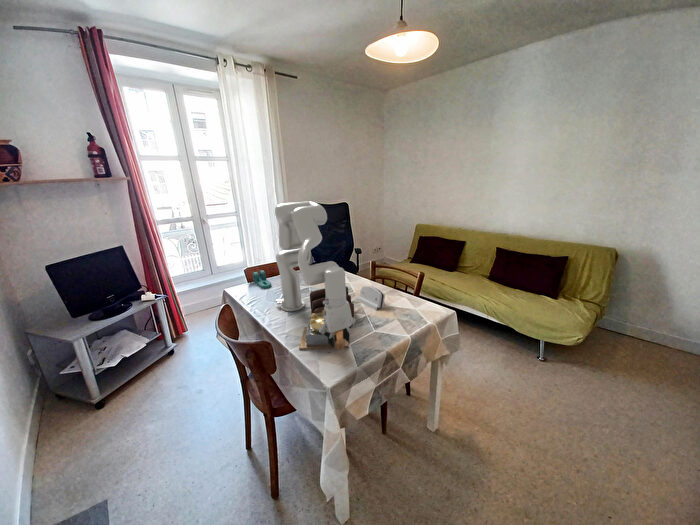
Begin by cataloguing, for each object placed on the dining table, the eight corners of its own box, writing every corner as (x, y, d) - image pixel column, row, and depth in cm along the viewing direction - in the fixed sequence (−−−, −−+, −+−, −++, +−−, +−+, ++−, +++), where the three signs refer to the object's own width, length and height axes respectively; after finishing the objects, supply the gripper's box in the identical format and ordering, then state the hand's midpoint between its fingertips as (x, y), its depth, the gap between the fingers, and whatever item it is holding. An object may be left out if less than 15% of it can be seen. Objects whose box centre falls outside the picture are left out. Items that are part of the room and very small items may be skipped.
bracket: (253, 282, 189) (251, 271, 187) (263, 279, 193) (261, 269, 190) (262, 290, 175) (261, 278, 173) (273, 287, 179) (271, 275, 176)
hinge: (356, 300, 154) (360, 282, 153) (362, 300, 157) (366, 283, 156) (376, 310, 142) (381, 291, 141) (382, 310, 145) (387, 292, 144)
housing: (299, 349, 112) (297, 336, 110) (305, 329, 127) (303, 317, 126) (348, 347, 112) (347, 334, 110) (348, 327, 127) (347, 315, 125)
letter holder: (311, 315, 140) (308, 290, 135) (348, 309, 145) (347, 284, 141) (314, 325, 131) (312, 298, 126) (354, 317, 136) (353, 291, 132)
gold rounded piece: (306, 329, 121) (304, 313, 119) (331, 321, 127) (330, 306, 124) (327, 354, 104) (325, 335, 101) (354, 343, 110) (354, 325, 107)
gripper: (319, 310, 95) (322, 355, 100) (361, 297, 103) (362, 339, 108) (310, 302, 101) (314, 345, 107) (351, 291, 109) (352, 331, 115)
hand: (338, 342), depth 107 cm, fingers open, 5 cm apart
